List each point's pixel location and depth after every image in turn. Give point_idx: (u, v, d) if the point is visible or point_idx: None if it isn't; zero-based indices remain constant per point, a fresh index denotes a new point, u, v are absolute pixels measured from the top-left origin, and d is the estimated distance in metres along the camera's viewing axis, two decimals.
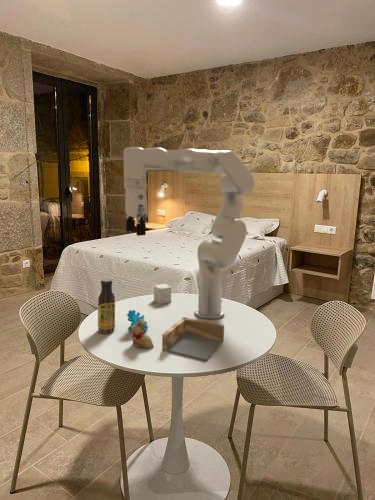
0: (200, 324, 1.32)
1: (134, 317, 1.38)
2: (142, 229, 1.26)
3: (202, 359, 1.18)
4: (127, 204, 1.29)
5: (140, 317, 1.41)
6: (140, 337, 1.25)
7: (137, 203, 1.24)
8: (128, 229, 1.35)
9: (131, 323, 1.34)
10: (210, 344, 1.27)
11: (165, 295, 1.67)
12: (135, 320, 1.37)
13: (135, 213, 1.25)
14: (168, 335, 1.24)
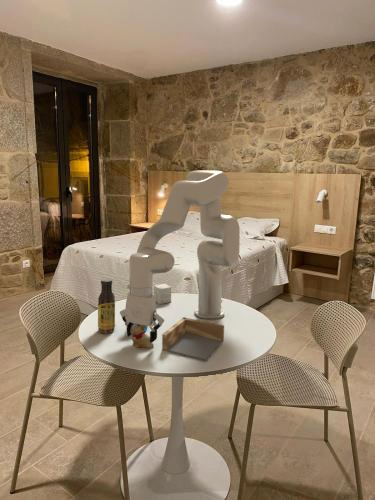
0: (200, 324, 1.32)
1: None
2: None
3: (202, 359, 1.18)
4: None
5: None
6: (140, 337, 1.25)
7: None
8: None
9: None
10: (210, 344, 1.27)
11: (165, 295, 1.67)
12: None
13: None
14: (168, 335, 1.24)
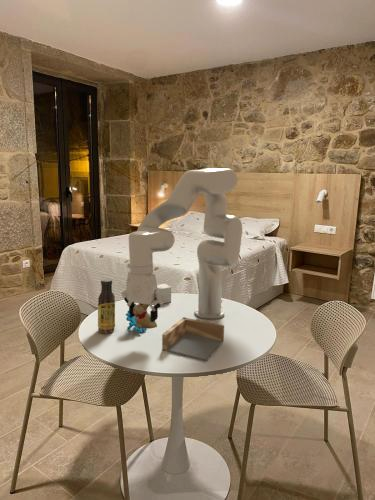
0: (200, 324, 1.32)
1: (133, 317, 1.38)
2: None
3: (202, 359, 1.18)
4: None
5: None
6: (143, 317, 1.24)
7: None
8: None
9: (129, 323, 1.34)
10: (210, 344, 1.27)
11: (165, 295, 1.67)
12: (134, 320, 1.37)
13: None
14: (168, 335, 1.24)
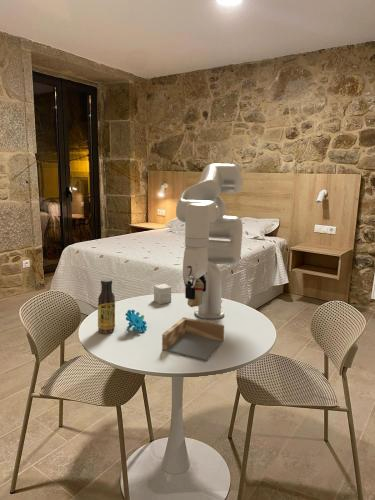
0: (200, 324, 1.32)
1: (133, 317, 1.38)
2: None
3: (202, 359, 1.18)
4: (201, 265, 1.17)
5: (139, 317, 1.41)
6: None
7: None
8: None
9: (129, 322, 1.34)
10: (210, 344, 1.27)
11: (165, 295, 1.67)
12: (133, 320, 1.37)
13: None
14: (168, 335, 1.24)
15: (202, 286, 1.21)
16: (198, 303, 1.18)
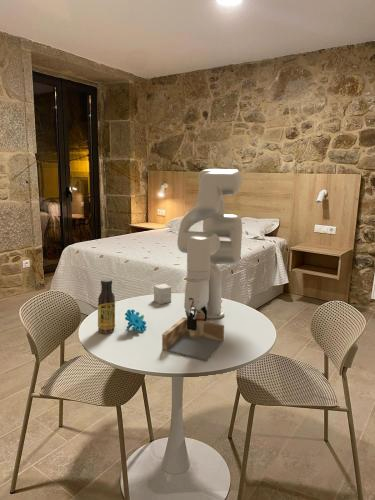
0: None
1: (132, 316, 1.38)
2: None
3: (202, 359, 1.18)
4: (202, 297, 1.19)
5: (139, 317, 1.41)
6: None
7: None
8: None
9: (128, 322, 1.34)
10: (210, 344, 1.27)
11: (165, 295, 1.67)
12: (133, 319, 1.37)
13: None
14: (168, 335, 1.24)
15: (203, 316, 1.23)
16: (199, 334, 1.20)
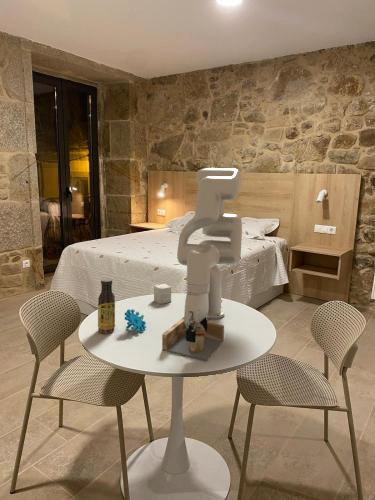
0: None
1: (132, 316, 1.38)
2: None
3: (202, 359, 1.18)
4: (202, 310, 1.20)
5: (139, 317, 1.41)
6: None
7: None
8: None
9: (127, 322, 1.35)
10: (210, 344, 1.27)
11: (165, 295, 1.67)
12: (132, 319, 1.37)
13: None
14: (168, 335, 1.24)
15: (203, 331, 1.25)
16: (200, 349, 1.22)
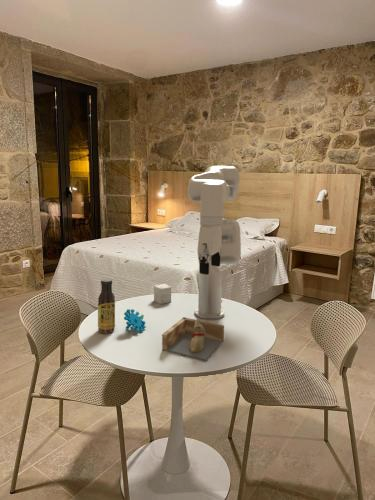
0: None
1: (131, 316, 1.38)
2: None
3: (202, 359, 1.18)
4: (215, 242, 1.21)
5: (138, 316, 1.41)
6: (192, 336, 1.24)
7: None
8: None
9: (127, 322, 1.35)
10: (210, 344, 1.27)
11: (165, 295, 1.67)
12: (132, 319, 1.37)
13: None
14: (168, 335, 1.24)
15: (203, 331, 1.25)
16: (200, 349, 1.22)
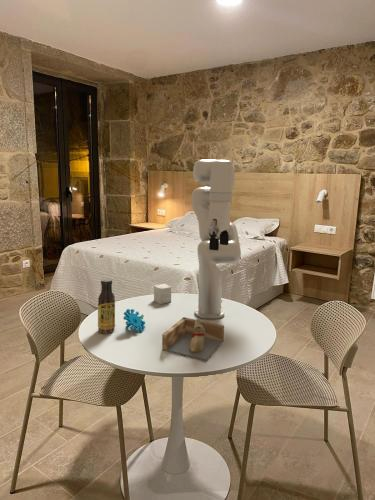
0: None
1: (131, 316, 1.38)
2: None
3: (202, 359, 1.18)
4: (225, 219, 1.24)
5: (138, 316, 1.41)
6: (192, 336, 1.24)
7: None
8: None
9: (126, 322, 1.35)
10: (210, 344, 1.27)
11: (165, 295, 1.67)
12: (131, 319, 1.37)
13: None
14: (168, 335, 1.24)
15: (203, 331, 1.25)
16: (200, 349, 1.22)
